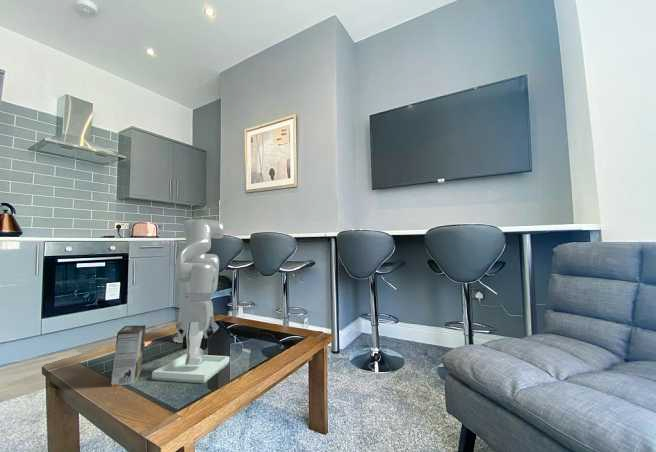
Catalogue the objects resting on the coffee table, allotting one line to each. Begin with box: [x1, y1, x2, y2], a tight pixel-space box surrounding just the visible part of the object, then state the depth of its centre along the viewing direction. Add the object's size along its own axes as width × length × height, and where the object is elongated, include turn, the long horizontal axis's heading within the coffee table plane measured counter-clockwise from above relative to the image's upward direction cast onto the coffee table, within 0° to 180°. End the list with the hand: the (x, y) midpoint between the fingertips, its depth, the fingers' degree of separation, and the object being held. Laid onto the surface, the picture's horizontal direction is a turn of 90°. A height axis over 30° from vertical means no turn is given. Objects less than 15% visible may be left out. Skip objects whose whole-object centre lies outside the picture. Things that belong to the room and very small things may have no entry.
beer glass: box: [185, 321, 207, 366], centre depth 99 cm, size 7×7×15 cm
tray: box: [151, 353, 230, 384], centre depth 98 cm, size 18×18×2 cm
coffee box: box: [110, 325, 147, 386], centre depth 90 cm, size 9×6×16 cm
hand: (195, 348), depth 99 cm, fingers closed on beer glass, 6 cm apart
